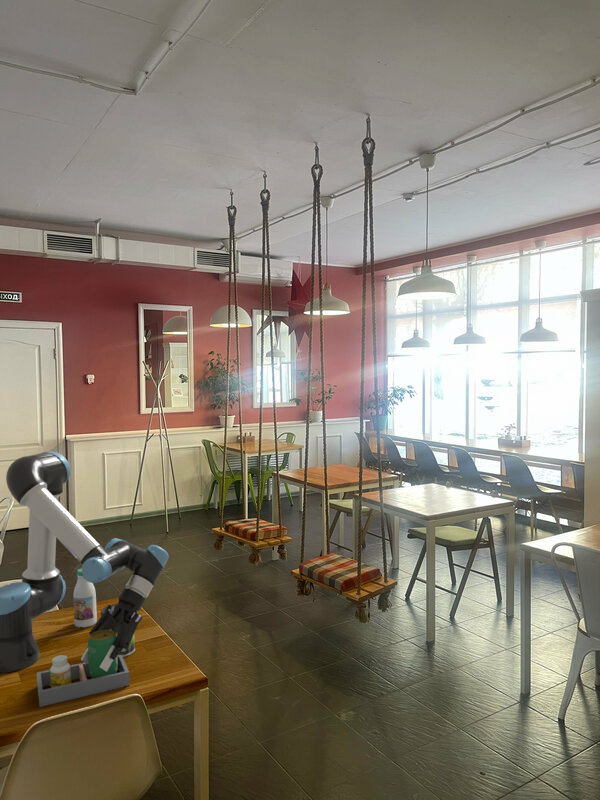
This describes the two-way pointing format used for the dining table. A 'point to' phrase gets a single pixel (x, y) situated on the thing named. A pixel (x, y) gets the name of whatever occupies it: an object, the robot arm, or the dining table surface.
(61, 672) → the supplement bottle
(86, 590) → the milk bottle
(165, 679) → the dining table surface
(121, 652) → the coffee can
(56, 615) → the dining table surface
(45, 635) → the dining table surface
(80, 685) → the caddy
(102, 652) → the beverage can
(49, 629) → the dining table surface
